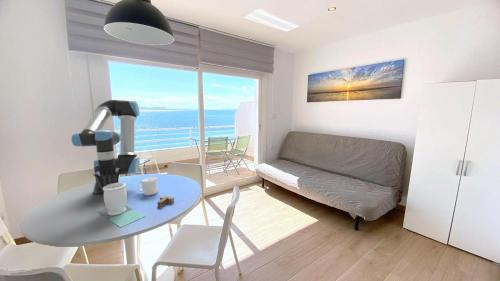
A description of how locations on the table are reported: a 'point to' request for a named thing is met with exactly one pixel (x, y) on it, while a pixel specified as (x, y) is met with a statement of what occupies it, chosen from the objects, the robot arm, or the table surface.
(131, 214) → the mat
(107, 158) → the robot arm
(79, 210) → the table surface
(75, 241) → the table surface
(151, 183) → the mug
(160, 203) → the t block
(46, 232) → the table surface
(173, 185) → the table surface
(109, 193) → the jar
